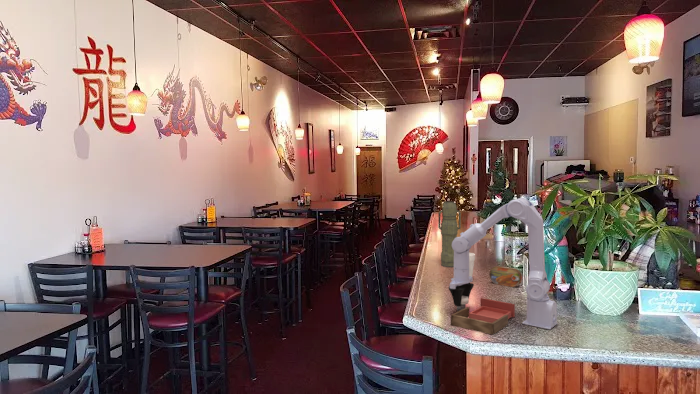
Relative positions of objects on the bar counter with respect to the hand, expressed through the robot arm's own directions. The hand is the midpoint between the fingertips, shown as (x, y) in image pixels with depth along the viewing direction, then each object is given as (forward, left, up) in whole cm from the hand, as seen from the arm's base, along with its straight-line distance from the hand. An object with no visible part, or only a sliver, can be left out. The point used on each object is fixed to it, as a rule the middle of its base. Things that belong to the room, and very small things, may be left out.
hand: (461, 303), depth 181 cm
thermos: (+44, -71, -3) cm, 84 cm away
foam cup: (+21, -44, -3) cm, 49 cm away
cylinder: (0, 0, -3) cm, 3 cm away
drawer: (-12, +1, -3) cm, 12 cm away
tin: (+3, -49, -3) cm, 49 cm away
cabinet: (-12, +9, -3) cm, 15 cm away
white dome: (0, 0, +1) cm, 1 cm away
